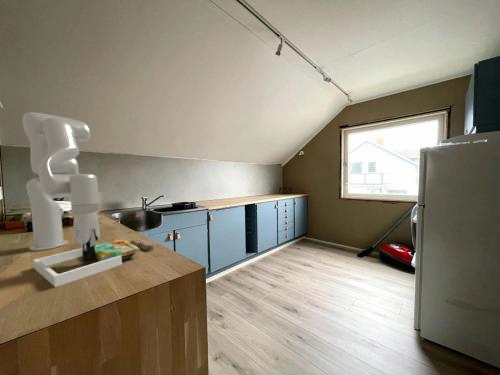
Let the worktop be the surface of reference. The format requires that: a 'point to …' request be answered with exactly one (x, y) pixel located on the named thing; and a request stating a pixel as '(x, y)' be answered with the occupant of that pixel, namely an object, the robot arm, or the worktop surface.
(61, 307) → the worktop surface
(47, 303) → the worktop surface
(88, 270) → the frame
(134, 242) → the rail
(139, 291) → the worktop surface
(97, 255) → the puzzle game
